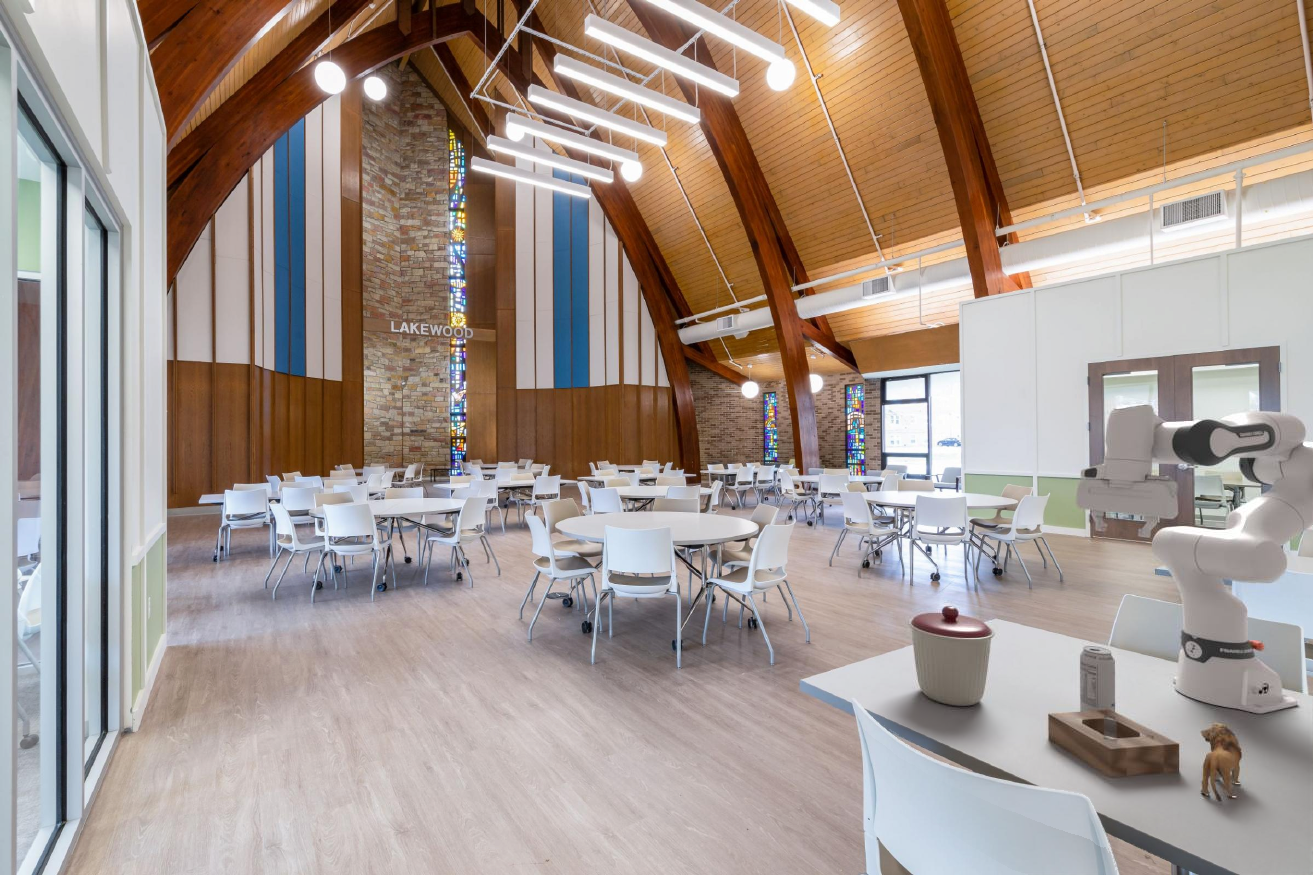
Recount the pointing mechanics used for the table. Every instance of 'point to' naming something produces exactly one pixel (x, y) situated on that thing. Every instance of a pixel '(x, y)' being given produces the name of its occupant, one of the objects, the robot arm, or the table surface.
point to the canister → (951, 656)
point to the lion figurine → (1221, 759)
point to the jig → (1113, 743)
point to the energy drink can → (1097, 679)
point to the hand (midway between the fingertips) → (1121, 533)
